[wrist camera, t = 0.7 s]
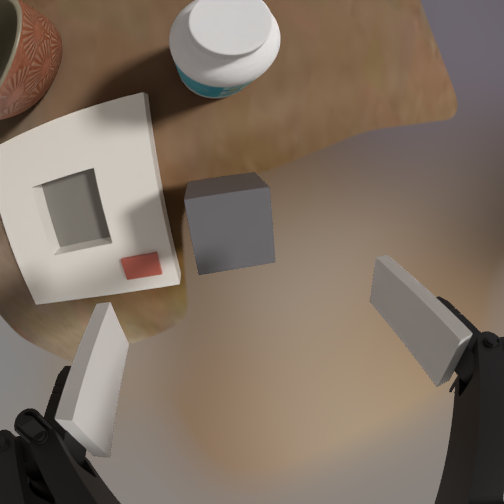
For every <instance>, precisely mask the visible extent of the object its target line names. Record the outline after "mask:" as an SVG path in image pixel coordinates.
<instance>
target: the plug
mask: <svg viewBox="0 0 504 504" xmlns="http://www.w3.org/2000/svg"><path fill="white" fill-rule="evenodd" d="M184 203H185V208H186V214H187V219H188V224H189V229H190V235H191V240H192V245H193V250H194V254H195V259H196V264H197V269H198V273H199V275H202V274H209V273H215V272H221V271H226V270H233V269H239V268H245V267H251V266H256V265H262V264H268V263H274V262H275V250H274V235H273V222H272V209H271V196H270V187H269V186H268V185H267V184H266V183H265V182H264V181H263V180H262V179H261V178H260V177H259V176H258V175H257V174H256V173H255V172H252V173H245V174H237V175H230V176H223V177H216V178H210V179H203V180H197V181H191V182H188V183H187V188H186V193H185V197H184Z"/></svg>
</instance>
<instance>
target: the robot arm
mask: <svg viewBox="0 0 504 504" xmlns="http://www.w3.org/2000/svg"><path fill="white" fill-rule="evenodd" d="M370 302H371V303H372V305H373V306H374V307H375V308H376V310H377V311H378V312H379V313H380V314H381V315H382V317H383V318H384V319H385V321H386V322H387V323H388V324H389V325H390V327H391V328H392V329H393V330H394V332H395V333H396V334H397V335H398V337H399V338H400V339H401V340H402V342H403V343H404V344H405V346H406V347H407V348H408V349H409V351H410V352H411V353H412V355H413V356H414V357H415V359H416V360H417V361H418V362H419V364H420V365H421V366H422V368H423V369H424V370H425V372H426V373H427V374H428V376H429V377H430V378H431V380H432V381H433V382H434V384H435V385H436V387H438V386H439V385H441V384H443V383H445V382H447V381H449V380H450V378H451V376H452V374H453V372H454V371H455V372H456V373H457V375H458V376H457V378H456V379H455V381H454V383H453V384H452V386H451V388H450V391H449V392H452V390H453V389H454V387H455V392H454V393H455V396H454V408H453V417H452V426H451V432H450V439H449V445H448V451H447V456H446V461H445V466H444V470H443V475H442V479H441V483H440V486H439V490H438V494H437V497H436V501H435V504H504V501H503V493H504V337H500V338H499V337H498V336H497V335H495V334H494V333H491V332H482V333H481V332H480V331H478V329H477V328H476V327H475V326H474V325H473V324H472V323H471V322H469V321H468V320H467V319H466V318H465V317H464V316H463V315H462V314H460V312H459V311H458V310H457V309H455V307H454V306H453V305H451V303H449V302H448V301H447V300H445V299H443V298H441V297H435V296H434V295H433V294H432V293H431V292H429V291H428V290H427V289H426V288H425V287H424V286H423V285H422V284H421V283H420V282H418V281H417V280H416V279H415V278H414V277H413V276H412V275H410V274H409V273H408V272H407V271H406V270H405V269H404V268H402V267H401V266H400V265H399V264H398V263H397V262H395V261H394V260H393V259H392V258H391V257H390V256H388V255H385V256H380V257H376V259H375V267H374V275H373V282H372V289H371V296H370ZM128 347H129V343H128V341H127V339H126V337H125V335H124V333H123V331H122V328H121V326H120V324H119V322H118V319H117V317H116V315H115V312H114V310H113V307H112V305H111V303H110V302H107V303H99V304H96V306H95V309H94V311H93V313H92V316H91V318H90V320H89V323H88V325H87V327H86V330H85V332H84V335H83V337H82V340H81V342H80V345H79V347H78V350H77V352H76V355H75V358H74V360H73V363H72V366H65V367H64V368H63V370H62V371H61V372H60V373H59V374H58V377H57V380H56V382H55V386H54V388H53V391H52V394H51V397H50V400H49V403H48V406H47V409H46V412H45V416H44V417H43V416H42V415H41V414H40V413H39V412H38V411H37V410H35V409H26V410H23V411H22V412H21V413H20V414H19V415H18V416H17V418H16V420H15V424H14V427H15V431H16V432H17V433H18V434H19V435H20V436H17V437H15V436H14V435H13V434H12V433H11V432H10V431H8V430H1V431H0V504H120V502H119V501H118V500H117V499H116V497H115V496H114V495H113V494H112V492H111V491H110V490H109V489H108V487H107V486H106V484H105V483H104V482H103V480H102V479H101V478H100V476H99V475H98V473H97V472H96V470H95V469H94V467H93V466H92V465H91V463H90V461H89V460H88V459H87V458H86V457H85V455H86V450H87V451H88V452H90V453H91V454H92V455H93V456H98V457H110V456H111V446H112V438H113V430H114V423H115V415H116V410H117V403H118V397H119V392H120V386H121V380H122V375H123V370H124V365H125V360H126V355H127V351H128Z"/></svg>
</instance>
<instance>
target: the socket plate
mask: <svg viewBox="0 0 504 504" xmlns="http://www.w3.org/2000/svg"><path fill="white" fill-rule="evenodd" d="M0 214H1V217H2V220H3V224H4V227H5V230H6V233H7V236H8V239H9V242H10V245H11V247H12V250H13V253H14V255H15V258H16V261H17V263H18V266H19V268H20V270H21V273H22V275H23V277H24V280H25V282H26V284H27V286H28V289H29V291H30V293H31V295H32V297H33V299H34V301H35V303H36V305H38V304H46V303H53V302H61V301H68V300H76V299H83V298H90V297H98V296H105V295H112V294H119V293H125V292H132V291H139V290H146V289H152V288H159V287H165V286H172V285H178V284H180V275H181V272H180V268H179V264H178V259H177V255H176V251H175V247H174V242H173V238H172V233H171V228H170V224H169V219H168V214H167V209H166V204H165V199H164V194H163V189H162V183H161V178H160V172H159V166H158V161H157V154H156V148H155V142H154V135H153V128H152V121H151V114H150V106H149V97H148V94H146V93H144V92H142V93H138V94H134V95H130V96H126V97H122V98H118V99H114V100H111V101H107V102H104V103H101V104H98V105H94V106H91V107H88V108H85V109H82V110H79V111H76V112H73V113H71V114H68V115H65V116H63V117H60V118H57V119H55V120H52V121H50V122H47V123H45V124H43V125H40V126H38V127H36V128H33V129H31V130H29V131H27V132H24V133H22V134H20V135H18V136H16V137H14V138H12V139H10V140H8V141H6V142H4V143H2V144H0Z"/></svg>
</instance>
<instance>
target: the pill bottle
mask: <svg viewBox="0 0 504 504" xmlns="http://www.w3.org/2000/svg"><path fill="white" fill-rule="evenodd" d="M169 46H170V51H171V54H172V57H173V60H174V62H175V65H176V67H177V70H178V73H179V75H180V78H181V80H182V81H183V83H184V84H185V86H186V87H187V88H188V89H190V90H191V91H192V92H194V93H195V94H197V95H200V96H203V97H207V98H224V97H228V96H231V95H233V94H235V93H237V92H239V91H240V90H242V89H243V88H244V87H246V86H247V85H248V84H249V83H251V82H252V81H253V80H255V79H256V78H258V77H259V76H260V75H262V74H263V73H264V72H265V71H266V70H267V69H268V68H269V67H270V65H271V64H272V63H273V61H274V60H275V58H276V56H277V54H278V51H279V47H280V31H279V27H278V24H277V22H276V20H275V18H274V16H273V15H272V14H271V12H270V10H269V8H268V7H267V5H266V4H265V3H264V2H263V1H262V0H195V1H193V2H191V3H190V4H189V5H187V6H186V7H185V8H184V9H183V10H182V11H181V12H180V13H179V14H178V16H177V17H176V19H175V20H174V22H173V24H172V27H171V30H170V35H169Z"/></svg>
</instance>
